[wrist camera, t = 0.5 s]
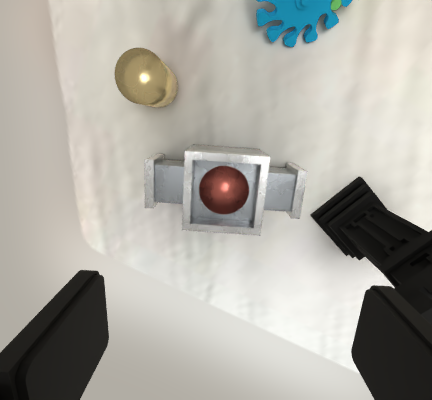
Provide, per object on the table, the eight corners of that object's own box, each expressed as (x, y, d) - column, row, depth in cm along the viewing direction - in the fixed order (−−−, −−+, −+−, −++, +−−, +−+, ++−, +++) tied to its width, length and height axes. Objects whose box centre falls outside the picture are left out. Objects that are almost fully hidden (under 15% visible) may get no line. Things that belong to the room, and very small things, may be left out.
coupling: (136, 61, 32) (113, 46, 25) (178, 65, 32) (166, 49, 25) (137, 106, 33) (115, 102, 26) (177, 108, 33) (165, 105, 26)
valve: (157, 141, 34) (138, 147, 27) (295, 151, 34) (316, 160, 27) (156, 204, 37) (139, 226, 29) (286, 214, 37) (302, 238, 29)
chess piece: (392, 218, 37) (579, 325, 17) (344, 253, 38) (466, 386, 19) (358, 176, 35) (524, 243, 16) (310, 214, 37) (406, 317, 18)
